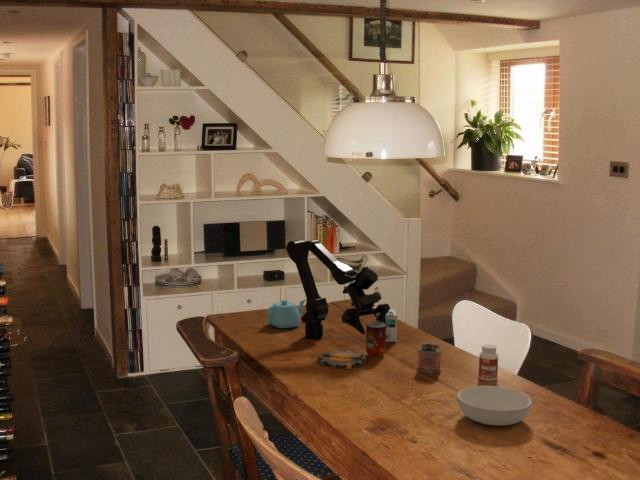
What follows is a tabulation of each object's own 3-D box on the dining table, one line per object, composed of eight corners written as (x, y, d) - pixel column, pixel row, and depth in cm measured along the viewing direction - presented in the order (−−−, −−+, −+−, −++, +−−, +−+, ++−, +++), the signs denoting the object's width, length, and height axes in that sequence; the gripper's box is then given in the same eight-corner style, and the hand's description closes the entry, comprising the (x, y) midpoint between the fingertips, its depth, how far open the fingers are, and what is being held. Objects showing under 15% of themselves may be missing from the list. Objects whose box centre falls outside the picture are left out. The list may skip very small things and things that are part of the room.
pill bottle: (479, 381, 269) (480, 348, 267) (477, 375, 275) (478, 343, 273) (498, 381, 268) (499, 349, 267) (496, 375, 274) (497, 343, 273)
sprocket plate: (316, 368, 281) (316, 363, 281) (319, 354, 298) (319, 349, 297) (366, 369, 280) (366, 364, 280) (366, 354, 297) (366, 350, 297)
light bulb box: (397, 342, 313) (397, 315, 312) (379, 342, 314) (380, 315, 312) (395, 334, 324) (395, 308, 322) (378, 334, 324) (378, 308, 322)
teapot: (313, 300, 335) (273, 305, 326) (313, 326, 336) (273, 331, 328) (299, 294, 346) (260, 299, 337) (299, 319, 347) (260, 324, 339)
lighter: (416, 371, 279) (416, 342, 277) (419, 368, 282) (420, 340, 280) (438, 374, 275) (439, 346, 274) (442, 371, 278) (442, 343, 277)
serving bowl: (525, 438, 222) (526, 414, 221) (449, 427, 230) (450, 404, 229) (534, 412, 241) (535, 390, 240) (464, 403, 249) (465, 381, 248)
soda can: (362, 356, 295) (362, 323, 293) (371, 351, 301) (372, 319, 299) (379, 359, 291) (380, 326, 290) (388, 354, 297) (389, 322, 295)
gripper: (345, 287, 293) (362, 324, 285) (387, 282, 302) (405, 317, 295) (333, 304, 301) (350, 340, 293) (375, 298, 310) (392, 333, 303)
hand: (375, 332), depth 296 cm, fingers open, 9 cm apart
